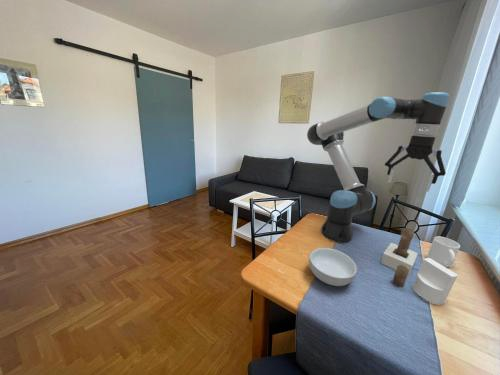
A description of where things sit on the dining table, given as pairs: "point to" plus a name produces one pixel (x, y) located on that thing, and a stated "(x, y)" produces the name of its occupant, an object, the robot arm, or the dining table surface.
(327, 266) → the cereal bowl
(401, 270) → the short dowel
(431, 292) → the base with upright slab
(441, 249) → the mug
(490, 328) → the dining table surface
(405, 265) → the hole block
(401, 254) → the long dowel
